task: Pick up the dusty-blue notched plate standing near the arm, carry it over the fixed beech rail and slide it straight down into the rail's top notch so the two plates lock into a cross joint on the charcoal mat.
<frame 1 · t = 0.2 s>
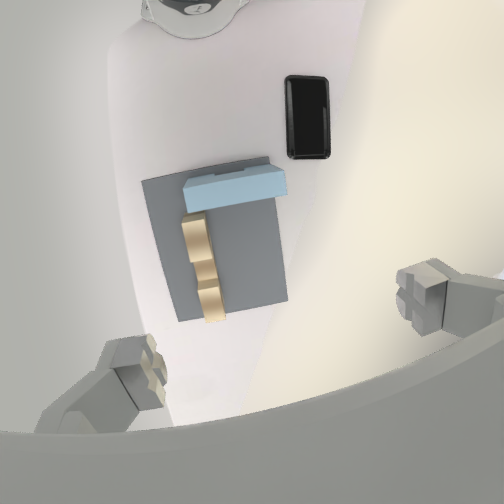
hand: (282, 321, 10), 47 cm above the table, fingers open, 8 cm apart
beech rail: (204, 258, 58), resting on mat
mat: (219, 244, 58), on the table
blue plate: (230, 180, 54), resting on mat
phone: (307, 117, 53), on the table
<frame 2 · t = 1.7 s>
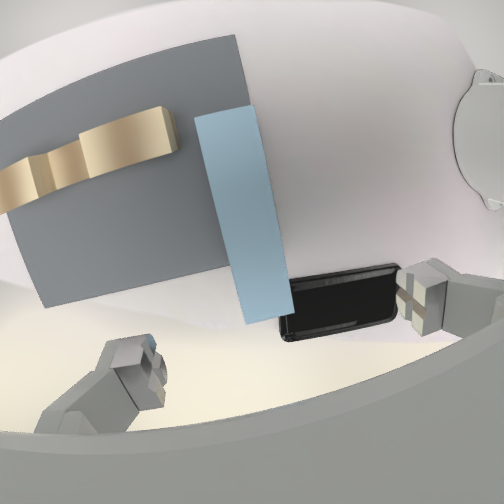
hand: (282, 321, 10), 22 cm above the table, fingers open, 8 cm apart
beech rail: (88, 158, 27), resting on mat
mat: (116, 181, 29), on the table
blue plate: (236, 192, 30), resting on mat
phone: (340, 299, 37), on the table
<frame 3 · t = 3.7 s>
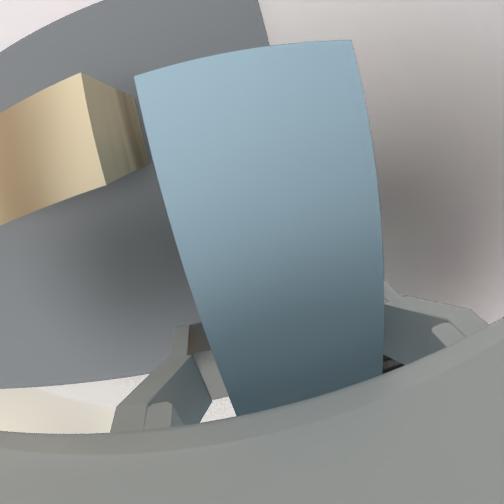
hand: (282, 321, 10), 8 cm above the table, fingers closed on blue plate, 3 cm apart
beech rail: (3, 185, 14), resting on mat
mat: (45, 222, 15), on the table
blue plate: (251, 242, 17), resting on mat, touching gripper
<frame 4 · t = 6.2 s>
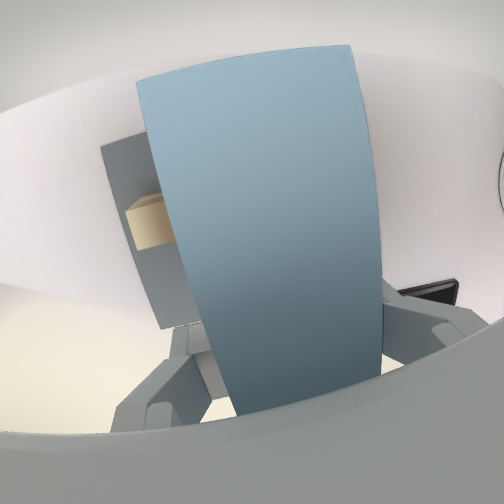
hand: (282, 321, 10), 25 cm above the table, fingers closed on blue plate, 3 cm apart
beech rail: (230, 190, 33), resting on mat
mat: (255, 212, 34), on the table
blue plate: (252, 244, 17), point 17 cm above the table, touching gripper
phone: (414, 308, 42), on the table
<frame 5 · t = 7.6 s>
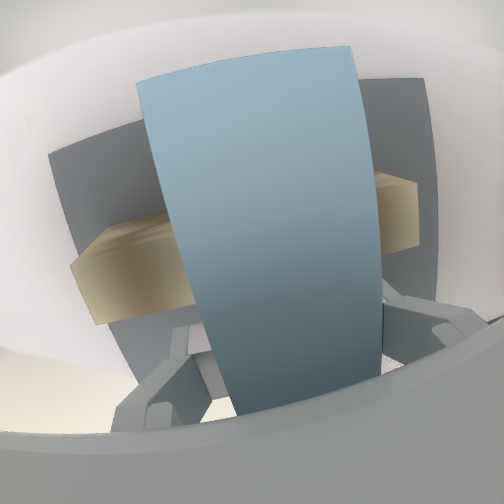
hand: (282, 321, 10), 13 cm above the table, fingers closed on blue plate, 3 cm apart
beech rail: (240, 218, 22), resting on mat
mat: (276, 250, 23), on the table
blue plate: (252, 244, 17), point 5 cm above the table, touching gripper
when the fingers open (9 cm above the table, at t = 8.8 s): blue plate stays where it is, resting on beech rail, mat.
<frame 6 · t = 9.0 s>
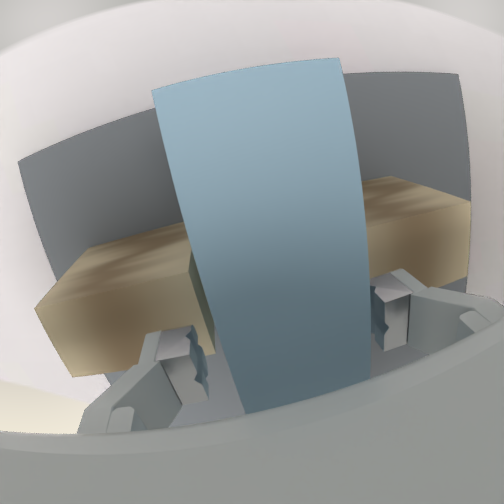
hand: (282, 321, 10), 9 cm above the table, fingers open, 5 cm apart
beech rail: (248, 237, 18), resting on mat
mat: (290, 274, 19), on the table
blue plate: (251, 239, 18), resting on beech rail, mat
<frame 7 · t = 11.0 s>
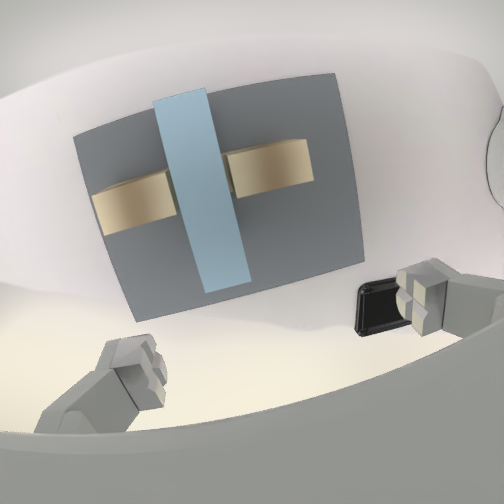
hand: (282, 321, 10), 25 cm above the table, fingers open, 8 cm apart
beech rail: (201, 176, 31), resting on mat
mat: (227, 198, 33), on the table
blue plate: (203, 177, 31), resting on beech rail, mat
phone: (401, 299, 42), on the table
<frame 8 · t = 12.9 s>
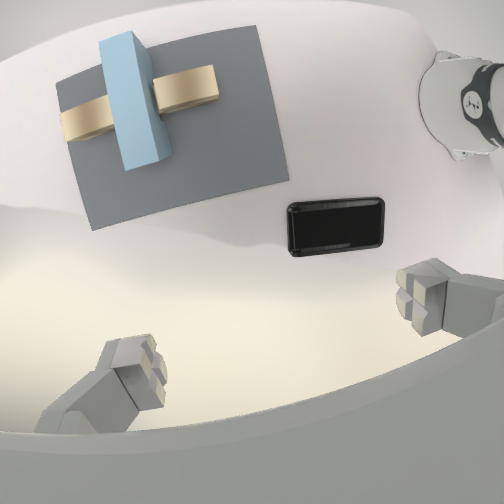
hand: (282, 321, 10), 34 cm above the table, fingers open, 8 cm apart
beech rail: (146, 106, 37), resting on mat
mat: (166, 123, 38), on the table
blue plate: (147, 107, 37), resting on beech rail, mat
phone: (336, 224, 46), on the table
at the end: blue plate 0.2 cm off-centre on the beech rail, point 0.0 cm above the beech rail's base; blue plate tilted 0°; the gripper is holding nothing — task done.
